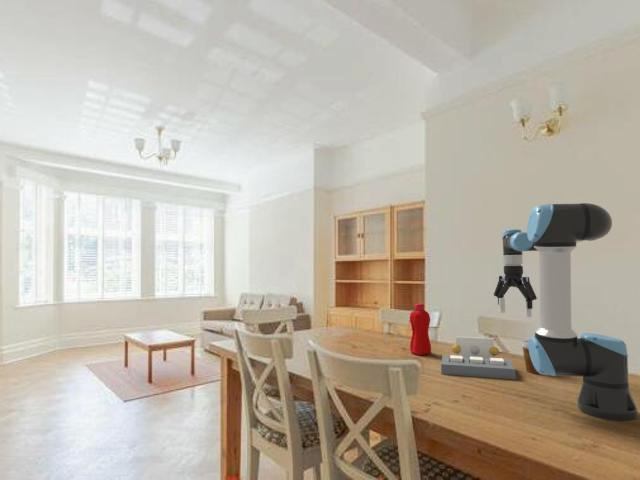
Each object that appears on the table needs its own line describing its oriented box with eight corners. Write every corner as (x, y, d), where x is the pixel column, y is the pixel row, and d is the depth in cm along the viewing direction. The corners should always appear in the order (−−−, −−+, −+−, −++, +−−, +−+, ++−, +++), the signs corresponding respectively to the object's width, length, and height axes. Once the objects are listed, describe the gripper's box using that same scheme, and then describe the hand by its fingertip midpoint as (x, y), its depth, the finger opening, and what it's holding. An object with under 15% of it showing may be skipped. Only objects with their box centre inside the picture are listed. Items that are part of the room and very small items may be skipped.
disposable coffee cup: (552, 375, 164) (551, 345, 165) (529, 375, 164) (527, 345, 165) (540, 368, 173) (539, 340, 174) (518, 368, 174) (517, 340, 174)
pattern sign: (499, 365, 180) (498, 339, 180) (452, 361, 186) (451, 336, 187) (498, 361, 186) (497, 336, 186) (452, 358, 192) (451, 334, 193)
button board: (515, 379, 158) (515, 369, 159) (441, 373, 167) (441, 364, 168) (510, 368, 174) (510, 359, 174) (442, 364, 183) (442, 355, 183)
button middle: (483, 367, 167) (483, 360, 168) (470, 366, 169) (470, 359, 169) (482, 364, 172) (482, 357, 172) (470, 363, 174) (469, 356, 174)
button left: (462, 365, 170) (462, 358, 170) (450, 365, 172) (450, 357, 172) (462, 362, 175) (462, 355, 175) (450, 362, 176) (450, 355, 177)
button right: (504, 368, 165) (504, 361, 165) (491, 367, 167) (490, 360, 167) (503, 365, 170) (502, 358, 170) (490, 364, 171) (489, 357, 171)
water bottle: (404, 352, 206) (403, 303, 207) (423, 350, 210) (422, 302, 211) (414, 356, 197) (413, 305, 199) (433, 354, 201) (432, 304, 202)
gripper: (545, 265, 164) (547, 317, 163) (497, 264, 187) (498, 310, 186) (531, 265, 162) (533, 319, 161) (484, 265, 185) (486, 311, 184)
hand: (514, 314), depth 173 cm, fingers open, 13 cm apart
